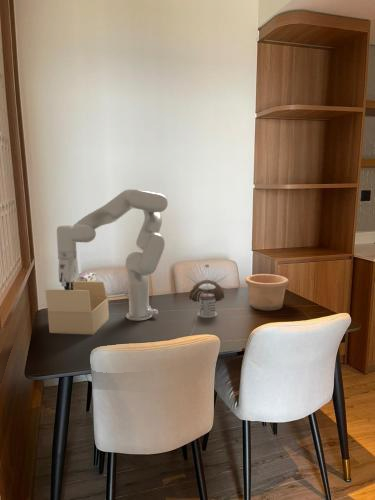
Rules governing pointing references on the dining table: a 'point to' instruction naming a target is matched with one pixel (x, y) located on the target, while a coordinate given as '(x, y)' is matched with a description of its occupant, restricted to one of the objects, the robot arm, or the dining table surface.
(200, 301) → the french press
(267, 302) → the pottery
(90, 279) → the candy bar box
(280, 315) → the dining table surface
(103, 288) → the back flap
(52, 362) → the dining table surface
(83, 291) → the front flap
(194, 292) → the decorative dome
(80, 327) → the carton
